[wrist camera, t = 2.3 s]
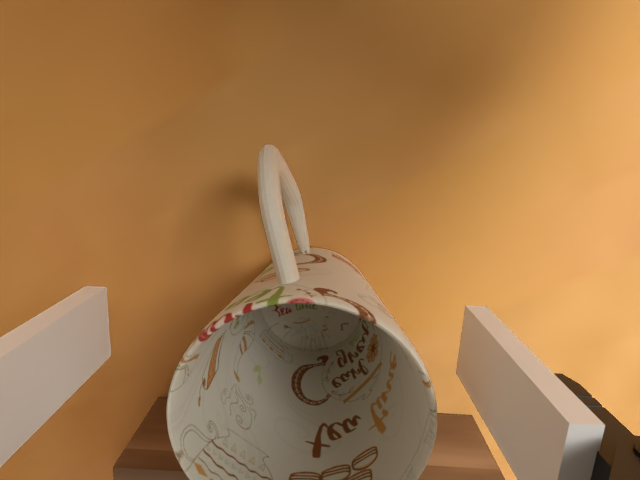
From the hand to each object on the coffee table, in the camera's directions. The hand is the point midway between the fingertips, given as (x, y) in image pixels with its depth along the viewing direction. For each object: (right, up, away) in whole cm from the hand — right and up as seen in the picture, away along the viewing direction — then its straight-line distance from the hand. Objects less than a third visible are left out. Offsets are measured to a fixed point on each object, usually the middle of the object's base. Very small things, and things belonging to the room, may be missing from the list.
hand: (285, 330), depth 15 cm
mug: (0, +2, +7) cm, 7 cm away
